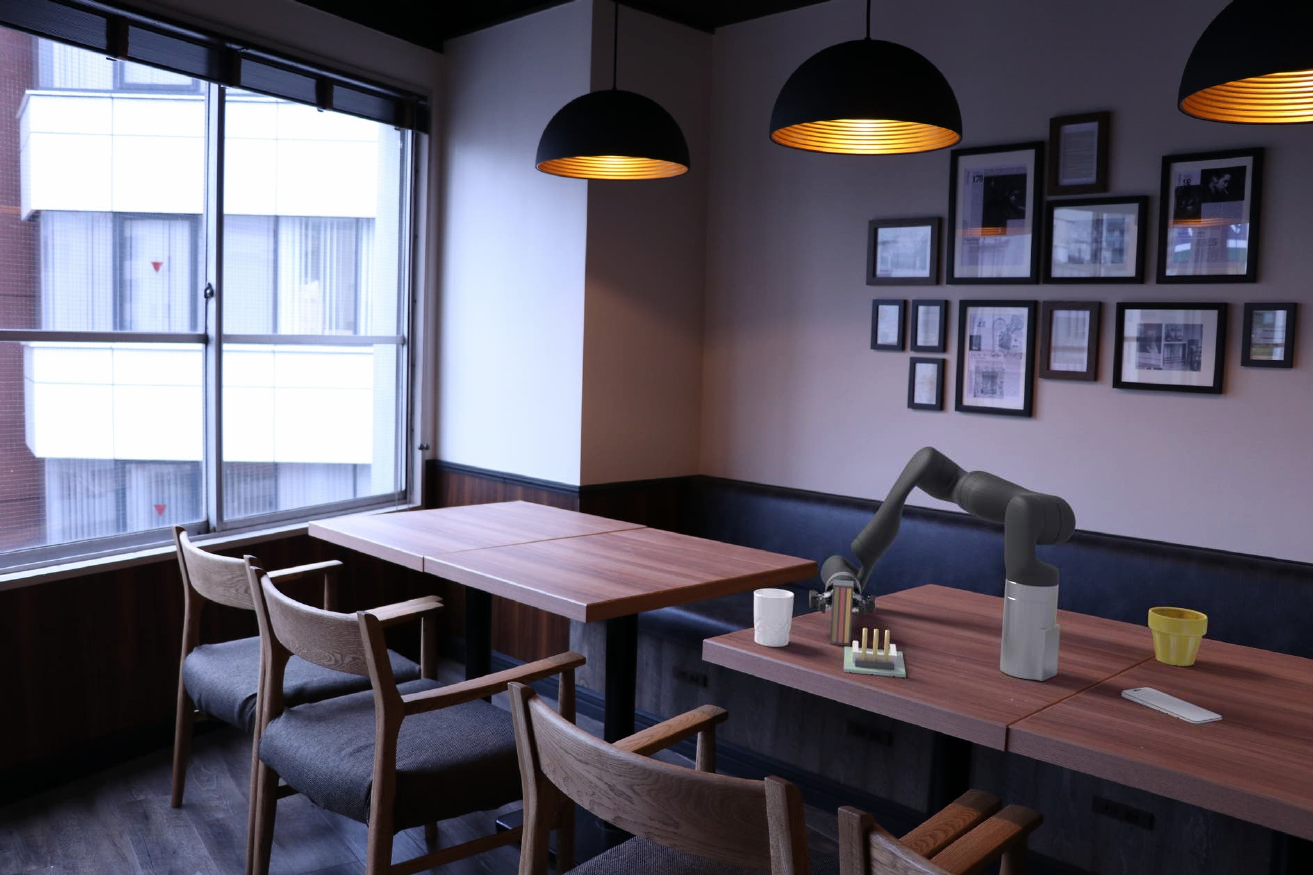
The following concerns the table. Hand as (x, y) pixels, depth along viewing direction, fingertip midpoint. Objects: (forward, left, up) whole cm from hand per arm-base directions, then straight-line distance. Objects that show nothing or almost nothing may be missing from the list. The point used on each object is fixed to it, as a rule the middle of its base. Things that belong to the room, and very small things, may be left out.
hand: (842, 609), depth 206 cm
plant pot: (-48, -45, -7) cm, 66 cm away
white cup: (+9, +10, -7) cm, 16 cm away
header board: (-12, +5, -7) cm, 15 cm away
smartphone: (-58, -15, -8) cm, 60 cm away
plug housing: (+1, -2, -7) cm, 7 cm away
